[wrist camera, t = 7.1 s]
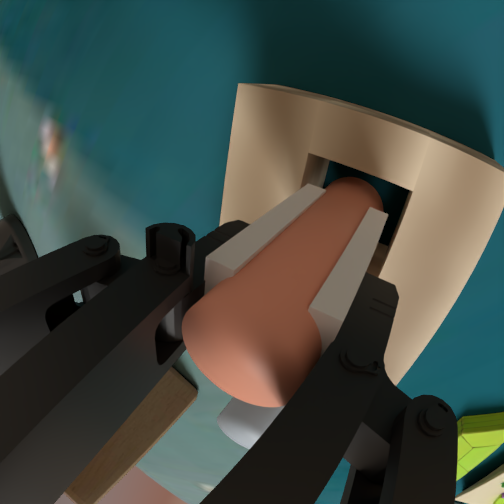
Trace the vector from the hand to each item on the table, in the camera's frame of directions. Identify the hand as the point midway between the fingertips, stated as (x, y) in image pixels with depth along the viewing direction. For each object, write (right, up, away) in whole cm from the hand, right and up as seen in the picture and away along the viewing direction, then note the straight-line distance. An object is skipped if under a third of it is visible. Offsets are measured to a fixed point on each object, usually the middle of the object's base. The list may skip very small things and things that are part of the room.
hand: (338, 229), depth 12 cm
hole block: (+2, -2, +6) cm, 7 cm away
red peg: (+1, +1, +2) cm, 2 cm away
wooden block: (-15, -16, +25) cm, 34 cm away
